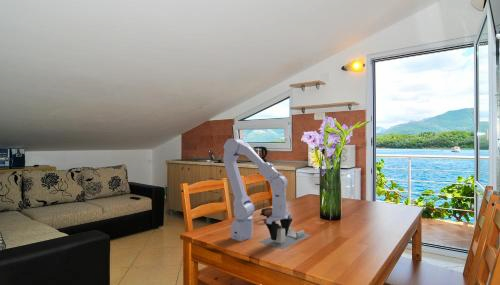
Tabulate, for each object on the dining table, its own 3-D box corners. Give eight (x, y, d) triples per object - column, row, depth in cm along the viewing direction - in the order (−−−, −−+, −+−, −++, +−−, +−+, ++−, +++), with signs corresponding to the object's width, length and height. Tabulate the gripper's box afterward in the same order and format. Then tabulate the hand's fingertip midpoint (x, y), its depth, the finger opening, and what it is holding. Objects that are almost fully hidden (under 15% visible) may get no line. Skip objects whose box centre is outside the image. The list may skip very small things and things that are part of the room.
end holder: (297, 238, 127) (297, 233, 127) (282, 235, 132) (282, 229, 132) (305, 235, 132) (305, 229, 132) (290, 231, 137) (290, 226, 137)
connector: (280, 243, 121) (280, 227, 121) (273, 241, 124) (273, 225, 124) (285, 241, 123) (285, 226, 123) (277, 239, 126) (277, 224, 126)
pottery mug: (258, 224, 153) (257, 208, 157) (264, 228, 161) (263, 213, 165) (280, 220, 149) (278, 204, 153) (286, 224, 157) (284, 209, 161)
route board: (282, 251, 115) (282, 249, 115) (258, 244, 123) (258, 241, 123) (311, 237, 131) (311, 235, 131) (288, 231, 140) (288, 229, 139)
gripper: (276, 209, 115) (276, 244, 115) (297, 203, 126) (297, 235, 126) (262, 206, 120) (262, 240, 120) (283, 201, 131) (283, 231, 131)
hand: (279, 237), depth 124 cm, fingers open, 7 cm apart
